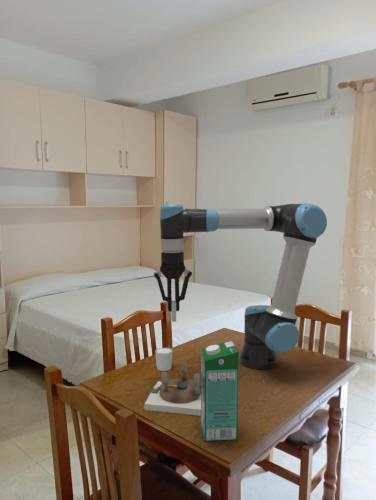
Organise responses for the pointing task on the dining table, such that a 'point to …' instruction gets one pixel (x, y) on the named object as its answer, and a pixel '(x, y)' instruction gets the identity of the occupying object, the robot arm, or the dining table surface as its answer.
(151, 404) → the stand
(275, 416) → the dining table surface
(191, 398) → the cam capstan
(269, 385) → the dining table surface
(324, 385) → the dining table surface
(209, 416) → the milk carton
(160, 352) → the white tapered cup
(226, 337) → the dining table surface
